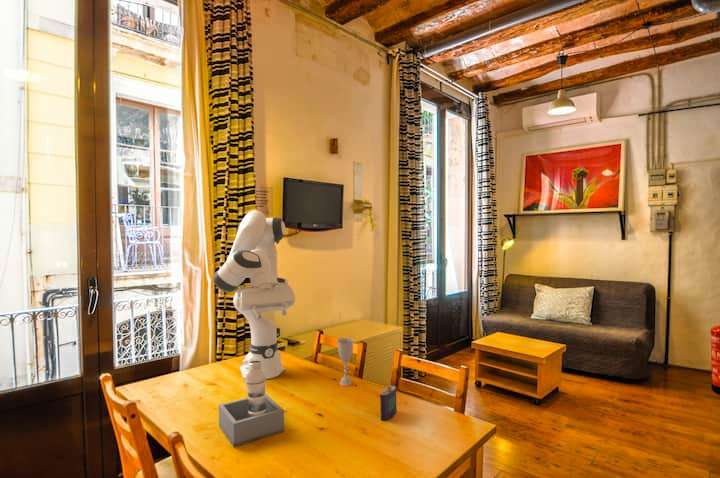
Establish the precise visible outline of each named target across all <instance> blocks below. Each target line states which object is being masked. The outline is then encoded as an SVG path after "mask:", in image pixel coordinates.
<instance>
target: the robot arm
mask: <svg viewBox="0 0 720 478" xmlns="http://www.w3.org/2000/svg"><path fill="white" fill-rule="evenodd" d="M285 233H286V225H285V222H284V220H283V219H282V218H281V217H275V216H274V217H266V215H265V214H264V213H263V212H262V211H260V210H251V211H248V213H246V214H245V216H244V217H243V218H242V220H241V221H240V223H239V224H238V225H237V232H236V235H235V238H234V242H233V244H232V247H231V250H230V252H229V254H228V255H227V258H226V261H225V262H224V263H223V265H221V266H220V268H219V269H218V270H217V271H216V272H215V273H214V274H213V283H214V284H215V287H216V288H217V289H219V290H220V291H222V292H225V293H226V292H227V293H234V292H235V291H236V292H235V293H234V296H233V299H232V300H233V301H232V303H233V306H234V308H235V309H236V311H238V312H239V313H241V314H242V315H243V316H244V317H245V319H246V320H247V322H248V325H249V328H250V339H251V340H250V341H251V342H250V346H249V352H248V353H247V354H246V355H245V356H244V359H242V363H241V364H242V365H241V366H240V367H239V370H240V373H241V375H242V378H243V379H244V380H245V379H246V376H247V374H248V372H249V371H250V369H249V363H250V362H251V361H261V370H262V371H263V372H264V373H265V376H266V380H269V379H273V378H276V377H278V376H279V375H281V374H282V373H283V372H284V371H285V367H283V366H282V358H281V357H282V355H281V353H280V351H278V350H279V349H278V348H279V345H278V344H279V343H278V339H277V325H276V323H275V322H274V321H273V320H271V319H269V318H266V317H265V316H264V315H263V313H271V312H272V313H273V312H274V313H275V312H280V313H281V316H282V317H283V316H287V314H288V311H287V310H289V309H290V308H291V306H293V305H294V303H295V302H296V295H295V293H294V291H293V288H292V287H291V286H290V284H288V283H289V280H288V279H287V278H283V277H279V276H278V275H279V274H278V252H277V246H276V245H277V244H279V243H280V241H281V240H282V239H283V238H284V237H285ZM246 278H249V280H250V283H251V284H250V285H251V286H245V287H244V286H242V287H240V285H241V284H242V283H243V282H244V280H246ZM238 287H240V288H238Z"/></svg>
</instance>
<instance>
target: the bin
mask: <svg viewBox="0 0 720 478" xmlns="http://www.w3.org/2000/svg"><path fill="white" fill-rule="evenodd" d="M265 399H266V406H267V410H268V413H264V414H261V415H257V416H253V417H250V418H247V414H248V397H245V398H241V399H237V400H231V401H229V402H225V403H221V404H218V427H219V428H220V430H221V431H222V432H223V434H224V435H225V437H226V438H227V440H228V441H229V443H230V444H231V445H232V447H233V448H237V447H240V446H243V445H246V444H249V443H252V442H255V441H258V440H261V439H264V438H265V439H266V438H269V437H271V436H274V435H277V434H278V435H279V434H281V433H283V432H285V410H284V408H283V407H281V406H280V405H279V404H278V403H277V402H276V401H274V400H273V399H272V398H271V397H270V396H269V395H267V393H265Z"/></svg>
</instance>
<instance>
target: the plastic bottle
mask: <svg viewBox="0 0 720 478" xmlns="http://www.w3.org/2000/svg"><path fill="white" fill-rule="evenodd" d="M249 369H250V371H249V372H248V374H247V376H246V379H244V380H245V384H246V390H247V396H248V397H247V398H248V414H247V418H250V417H253V416H257V415H261V414H264V413H268V410H267V406H266V399H265V394H266V384H267V383H266V382H267V381H266V380H267V379H266V376H265V373H264V372H263V371H262V370H261V361H251V362H250V363H249Z"/></svg>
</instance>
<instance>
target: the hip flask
mask: <svg viewBox="0 0 720 478" xmlns="http://www.w3.org/2000/svg"><path fill="white" fill-rule="evenodd" d="M386 386H387V387H386V390H384V391H381V392H380V394H379V397H380V398H379V399H380V421H381V422H388V421H389V420H391V419H393V418H394V416H395V415H396V414H397V386H394V385H390V384H387V385H386Z"/></svg>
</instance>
